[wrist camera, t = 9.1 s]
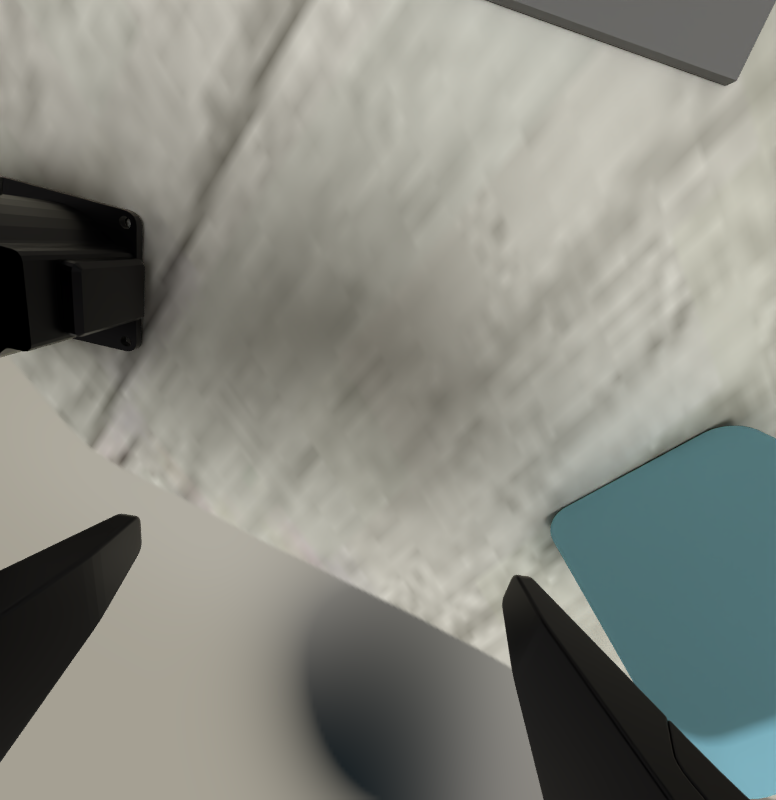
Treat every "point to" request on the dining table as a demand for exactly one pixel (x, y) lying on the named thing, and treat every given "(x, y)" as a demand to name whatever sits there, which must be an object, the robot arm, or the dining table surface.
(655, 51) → the charcoal mat
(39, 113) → the dining table surface
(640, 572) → the light blue flat block
